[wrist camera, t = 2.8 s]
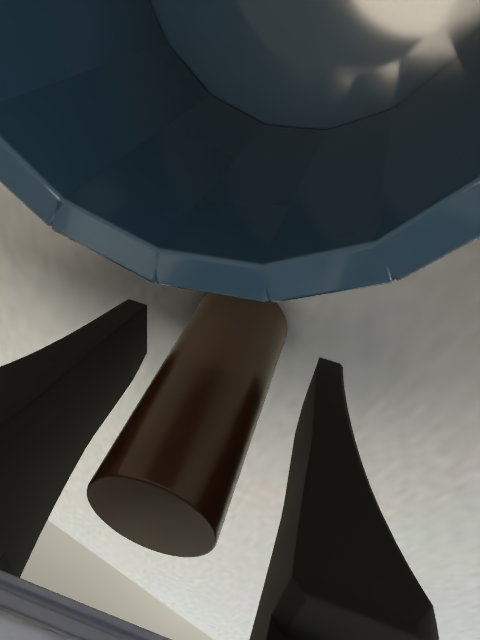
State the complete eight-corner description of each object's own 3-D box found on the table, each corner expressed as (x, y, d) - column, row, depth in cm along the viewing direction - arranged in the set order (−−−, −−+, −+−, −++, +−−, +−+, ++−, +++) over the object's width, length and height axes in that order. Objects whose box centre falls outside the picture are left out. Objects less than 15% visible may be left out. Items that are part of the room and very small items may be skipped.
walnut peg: (306, 334, 15) (245, 548, 9) (241, 368, 16) (160, 565, 11) (242, 267, 14) (136, 461, 8) (181, 311, 16) (62, 493, 10)
